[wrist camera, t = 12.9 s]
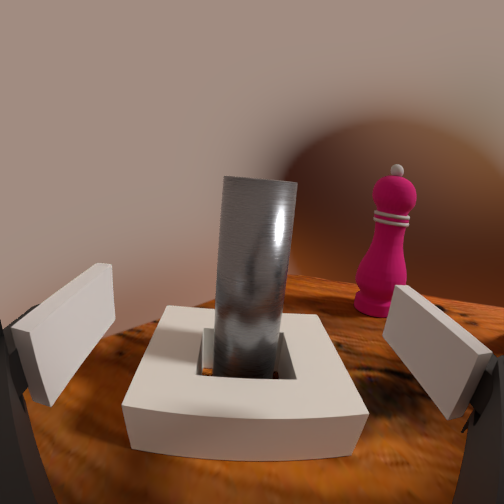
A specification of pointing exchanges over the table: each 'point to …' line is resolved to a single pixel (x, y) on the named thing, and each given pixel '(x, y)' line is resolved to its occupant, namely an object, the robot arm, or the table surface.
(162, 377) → the socket block
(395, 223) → the pepper mill
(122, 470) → the table surface
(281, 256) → the peg
